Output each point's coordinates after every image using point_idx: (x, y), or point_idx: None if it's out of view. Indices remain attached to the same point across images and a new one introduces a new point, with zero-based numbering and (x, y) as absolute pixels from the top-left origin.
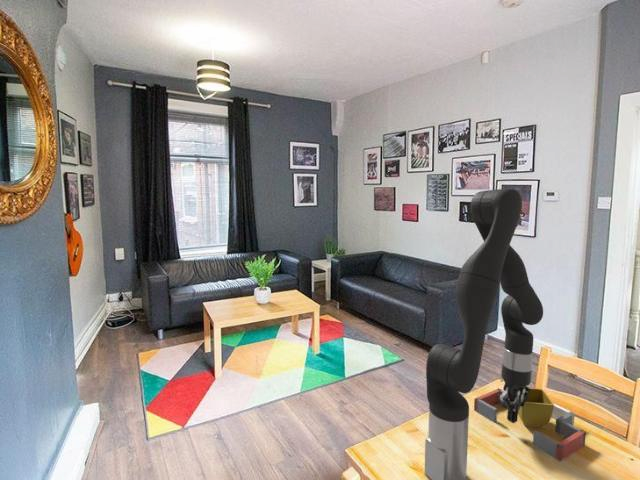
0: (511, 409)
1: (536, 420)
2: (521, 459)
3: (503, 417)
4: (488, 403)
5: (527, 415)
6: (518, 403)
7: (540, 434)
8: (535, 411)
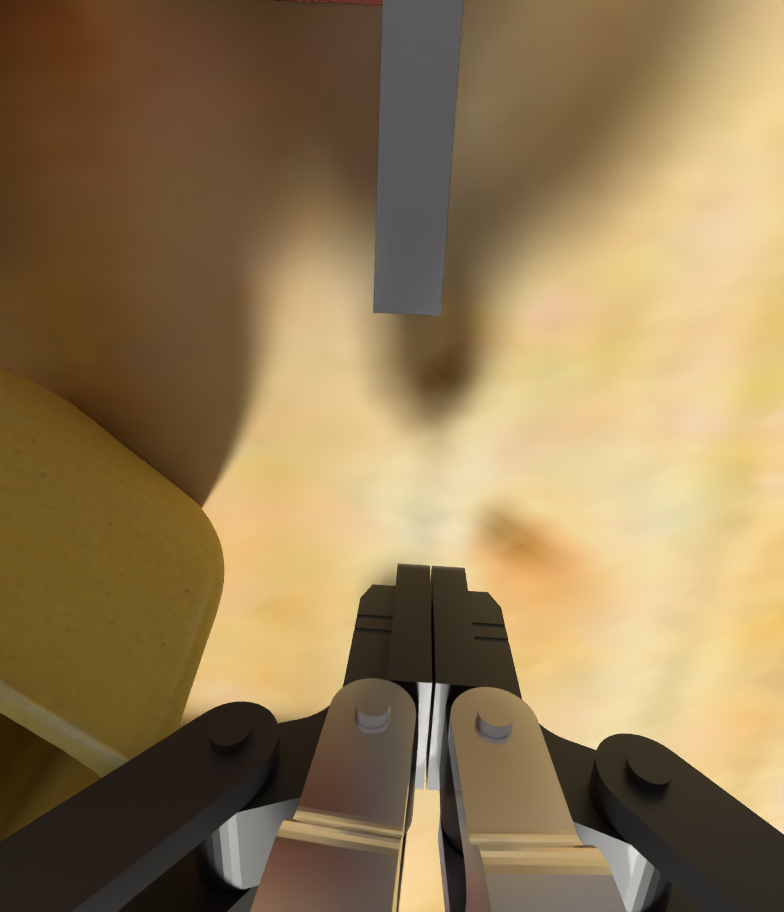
0: (671, 779)
1: (94, 455)
2: (768, 243)
3: (264, 672)
4: None
5: (172, 553)
6: (482, 856)
7: (416, 218)
8: (34, 523)
